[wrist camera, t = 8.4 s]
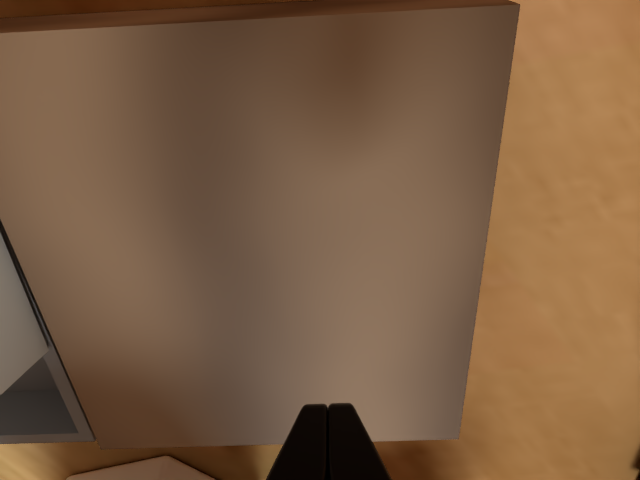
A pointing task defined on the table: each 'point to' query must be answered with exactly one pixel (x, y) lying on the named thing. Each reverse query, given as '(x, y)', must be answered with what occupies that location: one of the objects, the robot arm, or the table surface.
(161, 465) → the jar
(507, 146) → the table surface
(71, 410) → the tray
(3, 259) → the tile
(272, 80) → the brown board
